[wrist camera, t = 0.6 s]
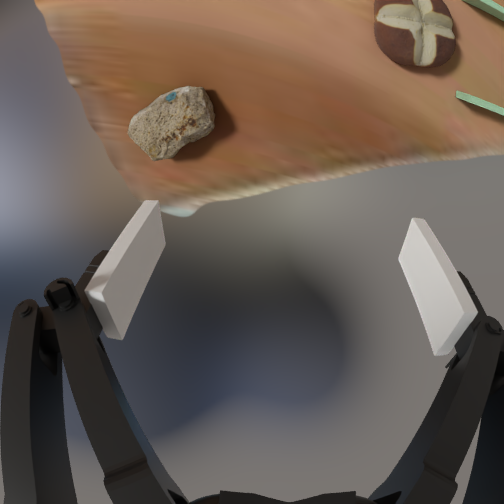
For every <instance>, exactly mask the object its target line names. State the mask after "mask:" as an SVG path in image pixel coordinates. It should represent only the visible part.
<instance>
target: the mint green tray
mask: <svg viewBox="0 0 504 504" xmlns="http://www.w3.org/2000/svg"><path fill="white" fill-rule="evenodd" d="M463 1H465V2H467V3H469V4H471V5H473V6H475V7H477V8H479V9H481V10H483V11H485V12H487V13H489V14H491V15H493V16H495V17H497V18H498V19H500V20H502V21H504V7H502V6H500V5H499V4H497V3H495V2H493V1H492V0H463ZM456 97H457V98H459V99H462V100H465V101H467V102H470V103H473V104H475V105H478V106H481V107H484V108H486V109H489V110H491V111H494V112H496V113H499V114H501V115H504V108H502V107H499V106H497V105H495V104H492V103H490V102H487V101H485V100H482V99H480V98H477V97H474V96H472V95H469V94H466V93H463V92H460V91H456Z"/></svg>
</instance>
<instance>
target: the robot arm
mask: <svg viewBox="0 0 504 504" xmlns="http://www.w3.org/2000/svg"><path fill="white" fill-rule="evenodd" d="M165 245H166V244H165V238H164V232H163V226H162V220H161V213H160V207H159V201H150V200H145V201H144V202H143V204H142V205H141V207H140V208H139V209H138V211H137V212H136V213H135V215H134V216H133V218H132V219H131V220H130V222H129V223H128V225H127V226H126V227H125V229H124V230H123V232H122V233H121V235H120V236H119V237H118V239H117V241H116V242H115V243H114V245H113V246H112V248H111V249H110V251H106V250H103V251H101V252H100V253H99V254H98V255H96V256H95V257H94V258H93V260H92V261H91V263H90V264H89V266H88V267H87V269H86V271H85V273H83V275H82V276H81V278H80V279H79V281H78V283H77V284H76V286H74V284H73V282H72V281H71V280H70V279H68V278H59V279H56V280H54V281H53V282H51V283H50V284H49V285H48V286H47V287H46V289H45V291H44V297H45V299H46V301H47V303H48V304H49V306H46V307H39V306H38V304H37V302H36V301H35V300H33V299H27V300H24V301H22V302H21V303H19V304H18V306H17V307H16V308H15V310H14V312H13V316H12V321H11V326H10V331H9V337H8V343H7V350H6V357H5V364H4V373H3V384H2V396H1V426H0V427H1V429H0V435H1V461H2V473H3V483H4V492H5V498H4V504H77V498H76V493H75V489H74V484H73V479H72V473H71V467H70V461H69V454H68V447H67V439H66V429H65V419H64V405H63V385H62V358H63V362H64V366H65V369H66V373H67V377H68V380H69V384H70V387H71V390H72V393H73V396H74V399H75V402H76V405H77V408H78V411H79V414H80V417H81V419H82V422H83V425H84V427H85V430H86V432H87V435H88V437H89V440H90V442H91V445H92V447H93V449H94V452H95V454H96V456H97V459H98V461H99V463H100V465H101V467H102V469H103V472H104V475H105V478H104V485H105V488H106V490H107V492H108V494H109V496H110V498H111V500H112V502H113V504H450V503H451V501H452V499H453V497H454V495H455V493H456V490H457V487H458V484H457V483H456V482H455V477H456V475H457V473H458V471H459V469H460V467H461V465H462V462H463V460H464V458H465V456H466V454H467V451H468V449H469V447H470V444H471V442H472V439H473V437H474V435H475V432H476V429H477V427H478V424H479V421H480V418H481V424H480V430H479V437H478V442H477V448H476V453H475V458H474V462H473V467H472V471H471V475H470V480H469V483H468V487H467V490H466V494H465V497H464V500H463V504H504V330H503V329H502V326H501V325H500V323H499V322H498V321H497V320H496V319H495V318H493V317H490V316H487V315H486V313H485V311H484V309H483V307H482V305H481V303H480V301H479V299H478V298H477V296H476V295H475V292H474V291H473V289H472V287H471V285H470V283H469V281H468V279H467V278H466V277H465V276H464V275H463V274H462V273H461V272H458V271H456V269H455V268H454V266H453V264H452V263H451V261H450V259H449V257H448V256H447V254H446V253H445V251H444V249H443V248H442V246H441V244H440V243H439V241H438V240H437V238H436V236H435V235H434V233H433V232H432V230H431V229H430V227H429V226H428V224H427V223H426V221H425V220H424V219H419V218H412V220H411V223H410V226H409V229H408V232H407V235H406V238H405V241H404V244H403V247H402V250H401V252H400V255H399V258H398V260H399V262H400V264H401V267H402V269H403V271H404V274H405V276H406V279H407V281H408V283H409V286H410V288H411V291H412V294H413V296H414V298H415V301H416V304H417V306H418V309H419V312H420V315H421V317H422V320H423V323H424V326H425V329H426V332H427V335H428V337H429V340H430V343H431V347H432V350H433V353H434V355H435V356H439V355H447V354H449V353H450V351H451V350H452V349H453V347H454V346H455V349H456V352H457V353H456V355H455V356H454V357H453V358H452V359H451V360H450V362H449V363H448V364H447V365H446V368H447V367H449V369H448V371H447V373H446V375H445V378H444V380H443V382H442V384H441V387H440V389H439V391H438V393H437V395H436V397H435V399H434V401H433V403H432V405H431V407H430V409H429V411H428V413H427V415H426V417H425V418H424V420H423V422H422V424H421V426H420V428H419V429H418V431H417V433H416V434H415V436H414V438H413V440H412V442H411V443H410V445H409V446H408V448H407V450H406V451H405V453H404V454H403V456H402V457H401V459H400V460H399V462H398V464H397V465H396V467H395V468H394V469H393V471H392V472H391V474H390V475H389V477H388V478H387V479H386V481H385V482H384V483H382V485H380V486H379V487H378V488H377V489H376V490H375V491H374V492H373V493H372V495H371V496H370V497H369V498H368V499H367V498H364V497H360V496H356V491H351V492H341V493H329V494H322V495H318V496H314V497H311V498H307V499H303V500H299V501H295V502H284V501H280V500H276V499H272V498H268V497H265V496H261V495H257V494H253V493H240V492H230V491H220V494H215V495H210V496H205V497H202V498H199V499H196V500H194V501H192V502H190V503H189V501H188V500H187V498H186V497H185V496H184V494H183V493H182V492H181V490H180V488H179V487H178V486H177V484H176V483H175V482H174V481H173V480H172V478H171V477H170V476H169V474H168V473H167V471H166V470H165V468H164V466H163V465H162V463H161V462H160V460H159V458H158V457H157V455H156V453H155V452H154V450H153V448H152V446H151V445H150V443H149V441H148V439H147V437H146V436H145V434H144V432H143V430H142V428H141V426H140V424H139V423H138V421H137V419H136V417H135V415H134V413H133V411H132V409H131V407H130V405H129V403H128V401H127V399H126V397H125V395H124V392H123V390H122V388H121V386H120V384H119V382H118V379H117V377H116V375H115V372H114V370H113V368H112V365H111V363H110V360H109V358H108V356H107V353H106V351H105V348H104V345H103V343H102V341H101V338H100V337H99V335H100V333H101V331H102V329H103V330H104V332H105V334H106V336H107V337H109V338H114V339H120V340H123V338H124V335H125V333H126V330H127V328H128V326H129V323H130V321H131V319H132V316H133V314H134V312H135V309H136V307H137V305H138V303H139V300H140V298H141V296H142V294H143V291H144V289H145V287H146V285H147V283H148V280H149V278H150V276H151V274H152V272H153V270H154V267H155V265H156V263H157V261H158V259H159V257H160V255H161V253H162V251H163V249H164V247H165Z"/></svg>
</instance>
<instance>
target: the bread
mask: <svg viewBox="0 0 504 504" xmlns="http://www.w3.org/2000/svg"><path fill="white" fill-rule="evenodd" d="M374 15H375V23H374V33H375V37H376V41H377V44H378V46H379V47H380V49H381V50H382V51H383V53H384V54H385V55H387V56H388V57H389V58H390V59H392V60H393V61H395V62H397V63H399V64H403V65H416V66H420V67H438V66H441V65H443V64H444V63H446V62H447V61H448V60H449V59H450V57H451V56H452V54H453V52H454V50H455V45H456V39H455V36H454V34H453V33H452V26H453V21H452V17H451V14H450V12H449V9H448V8H447V6H446V4H445V3H444V2H443V1H442V0H375V2H374Z"/></svg>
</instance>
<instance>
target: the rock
mask: <svg viewBox="0 0 504 504" xmlns="http://www.w3.org/2000/svg"><path fill="white" fill-rule="evenodd" d="M214 119H215V114H214V112H213V105H212V102H211V101H210V99H209V96H208V95H207V93H206V91H205V90H204V88H203V87H190V86H186V87H182V88H177V89H175V90H172V91H170V92H168V93H165V94H161V95H160V97H158V98H157V99H156V100H155V101H153V102H152V103H151V104H150V105H149V106H147V107H146V108H144V109H142V110H140V111H139V112H138V113H137V114H136V115H134V116H133V118H132V119H131V122H130V124H129V130H128V135H129V137H130V138H131V139H133V141H134V142H135V143H136V144H137V145H139V146H140V148H141V149H143V150H144V151H145V152H146V153H147V154H148V155H149V157H150V158H151V159H152V160H153V161H157V160H162V159H170V158H173V157H174V156H175V155H176V154H177V152H178V151H179V149H180V148H182V147H183V146H184V145H186V144H188V143H189V142H195V141H196V140H199V139H200V138H202V137H205V136H207V135H208V134H209V133H210V132H211V131H213V129H214V127H215V125H214Z"/></svg>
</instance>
